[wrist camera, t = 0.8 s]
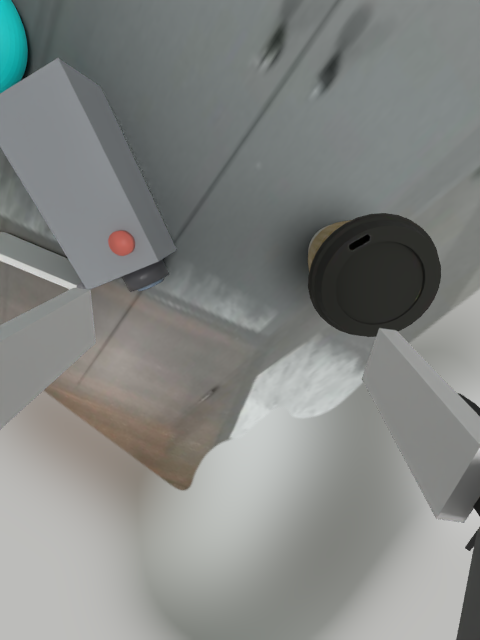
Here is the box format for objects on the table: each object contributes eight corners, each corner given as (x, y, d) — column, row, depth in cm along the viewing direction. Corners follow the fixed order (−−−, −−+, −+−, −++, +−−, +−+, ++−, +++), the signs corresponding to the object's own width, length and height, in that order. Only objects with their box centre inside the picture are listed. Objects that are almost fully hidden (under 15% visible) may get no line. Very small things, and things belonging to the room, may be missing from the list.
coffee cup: (315, 303, 38) (345, 363, 24) (278, 236, 35) (288, 262, 21) (389, 264, 36) (469, 307, 22) (355, 189, 33) (424, 184, 19)
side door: (5, 239, 37) (-43, 247, 31) (6, 227, 37) (-42, 233, 31) (109, 283, 39) (82, 299, 33) (112, 272, 38) (85, 286, 32)
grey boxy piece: (32, 126, 32) (-34, 106, 25) (100, 86, 31) (51, 53, 23) (124, 291, 39) (93, 312, 32) (185, 267, 37) (166, 284, 30)
